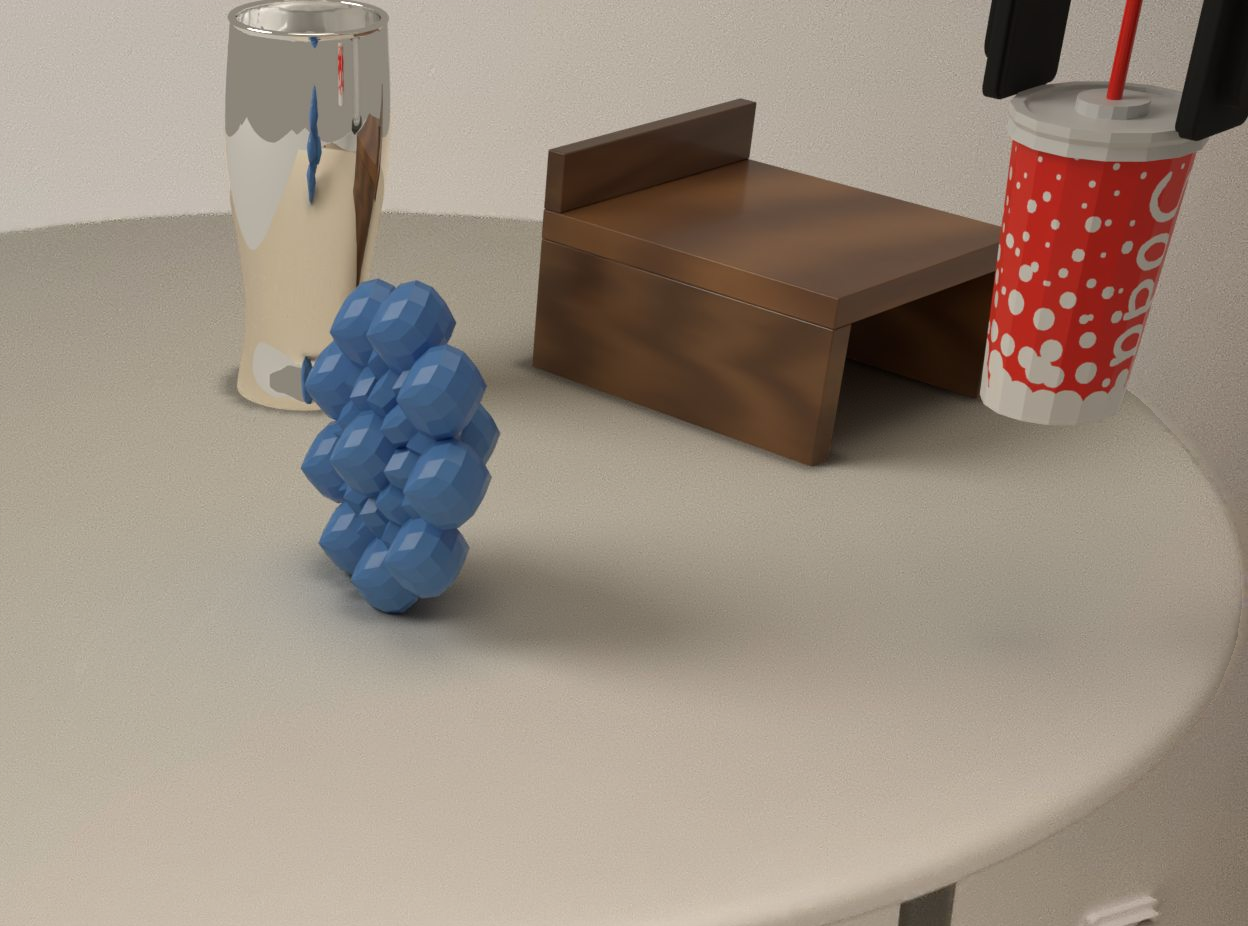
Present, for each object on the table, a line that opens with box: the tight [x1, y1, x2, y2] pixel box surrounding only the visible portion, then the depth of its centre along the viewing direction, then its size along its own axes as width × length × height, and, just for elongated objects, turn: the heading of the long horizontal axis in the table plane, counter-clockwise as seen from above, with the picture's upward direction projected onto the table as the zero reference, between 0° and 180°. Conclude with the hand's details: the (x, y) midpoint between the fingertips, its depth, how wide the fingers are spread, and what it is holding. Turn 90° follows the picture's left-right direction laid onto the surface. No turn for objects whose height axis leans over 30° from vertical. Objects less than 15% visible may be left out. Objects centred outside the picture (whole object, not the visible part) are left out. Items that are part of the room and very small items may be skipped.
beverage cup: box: [980, 0, 1210, 426], centre depth 69 cm, size 6×6×14 cm
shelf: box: [531, 97, 1002, 467], centre depth 96 cm, size 16×13×9 cm
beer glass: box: [223, 0, 392, 412], centre depth 93 cm, size 7×7×15 cm
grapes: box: [300, 277, 501, 614], centre depth 77 cm, size 12×7×12 cm, turn 23°
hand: (1112, 104), depth 67 cm, fingers closed on beverage cup, 6 cm apart
